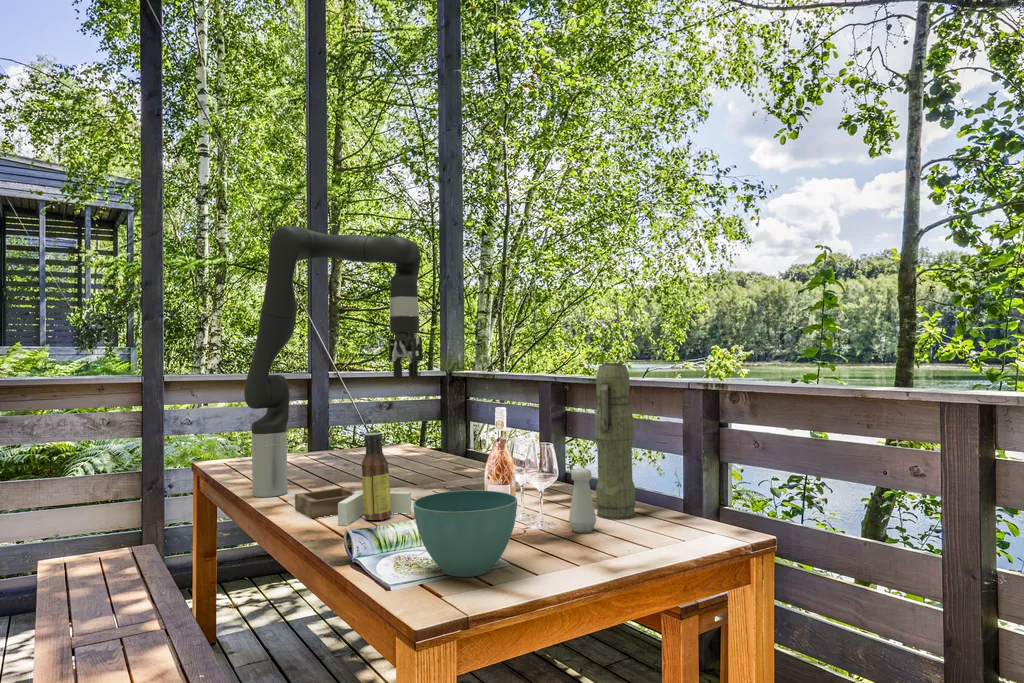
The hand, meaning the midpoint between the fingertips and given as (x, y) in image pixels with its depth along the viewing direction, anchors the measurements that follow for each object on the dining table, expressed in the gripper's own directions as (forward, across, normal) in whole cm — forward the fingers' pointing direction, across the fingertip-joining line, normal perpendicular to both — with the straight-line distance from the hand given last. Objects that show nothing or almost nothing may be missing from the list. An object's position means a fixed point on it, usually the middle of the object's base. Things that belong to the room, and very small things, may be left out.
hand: (405, 377), depth 175 cm
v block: (+32, +7, -14) cm, 36 cm away
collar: (+32, -5, -19) cm, 38 cm away
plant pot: (+32, +56, -18) cm, 67 cm away
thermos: (+32, +45, +30) cm, 63 cm away
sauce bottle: (+32, +11, -14) cm, 37 cm away
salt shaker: (+32, +50, +15) cm, 61 cm away
